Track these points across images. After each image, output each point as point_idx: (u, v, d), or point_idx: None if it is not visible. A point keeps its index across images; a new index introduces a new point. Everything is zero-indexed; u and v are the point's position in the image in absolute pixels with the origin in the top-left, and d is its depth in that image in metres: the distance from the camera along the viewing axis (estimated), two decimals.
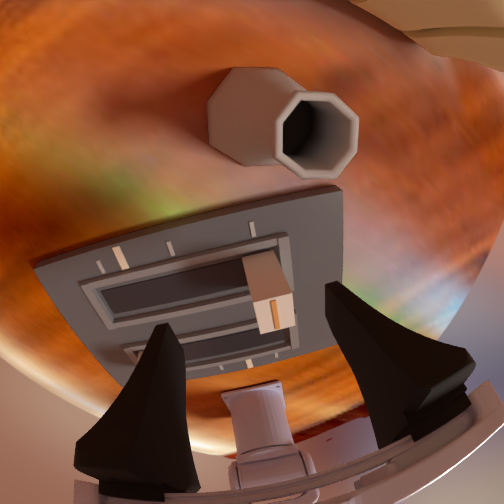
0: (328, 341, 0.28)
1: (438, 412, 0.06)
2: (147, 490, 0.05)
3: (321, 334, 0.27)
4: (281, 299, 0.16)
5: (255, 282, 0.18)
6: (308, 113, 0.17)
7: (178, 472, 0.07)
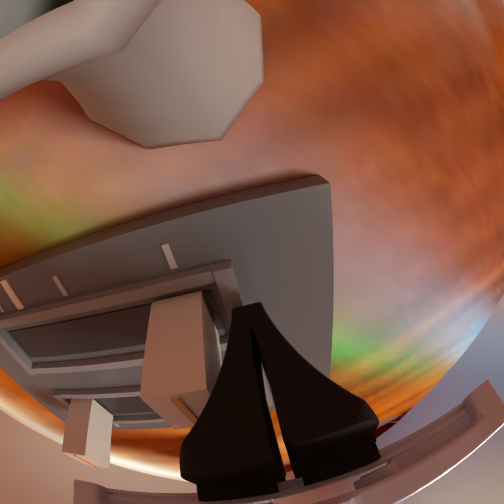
0: None
1: (334, 461, 0.06)
2: (263, 483, 0.05)
3: None
4: (189, 396, 0.08)
5: (154, 355, 0.09)
6: None
7: (279, 459, 0.07)
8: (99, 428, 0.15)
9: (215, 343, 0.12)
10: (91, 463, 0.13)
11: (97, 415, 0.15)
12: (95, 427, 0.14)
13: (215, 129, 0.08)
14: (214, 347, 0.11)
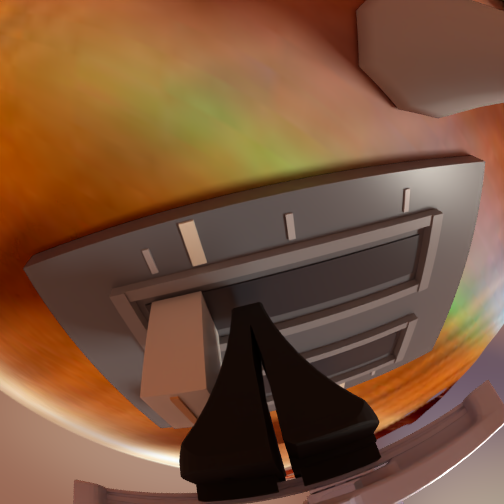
0: (425, 348, 0.20)
1: (334, 461, 0.06)
2: (263, 483, 0.05)
3: (423, 340, 0.19)
4: (189, 396, 0.08)
5: (154, 355, 0.09)
6: None
7: (279, 459, 0.07)
8: None
9: (215, 343, 0.12)
10: None
11: None
12: None
13: (460, 111, 0.09)
14: (214, 347, 0.11)
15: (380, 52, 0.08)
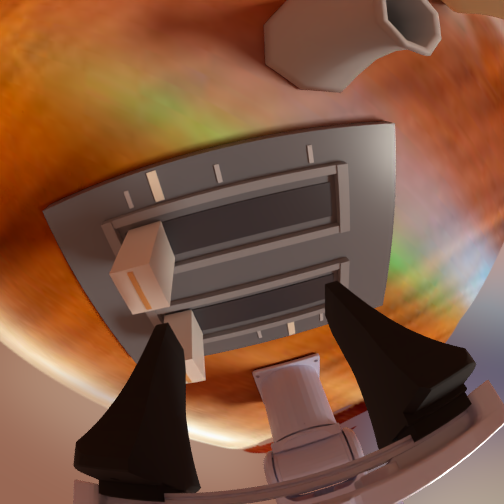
0: (374, 301, 0.25)
1: (438, 412, 0.06)
2: (147, 490, 0.05)
3: (369, 291, 0.24)
4: (139, 271, 0.13)
5: (123, 253, 0.14)
6: None
7: (178, 472, 0.07)
8: (197, 338, 0.21)
9: (168, 257, 0.17)
10: (188, 376, 0.18)
11: (195, 326, 0.21)
12: (195, 336, 0.20)
13: (349, 83, 0.14)
14: (166, 258, 0.17)
15: (275, 52, 0.13)
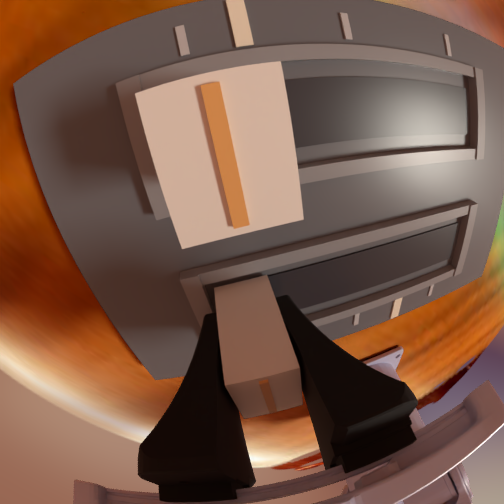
0: (477, 269, 0.16)
1: (374, 446, 0.06)
2: (220, 489, 0.05)
3: (477, 254, 0.15)
4: (241, 85, 0.04)
5: None
6: None
7: (243, 466, 0.07)
8: None
9: None
10: (275, 402, 0.09)
11: None
12: None
13: None
14: None
15: None
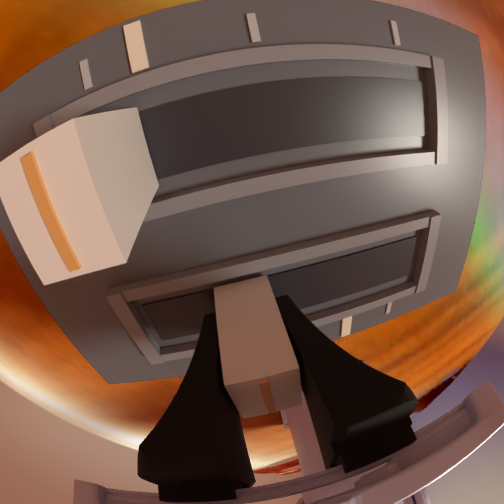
0: (449, 284, 0.16)
1: (374, 446, 0.06)
2: (219, 489, 0.05)
3: (447, 268, 0.15)
4: (47, 150, 0.04)
5: None
6: None
7: (242, 466, 0.07)
8: None
9: (143, 170, 0.08)
10: (274, 403, 0.09)
11: None
12: None
13: None
14: (137, 166, 0.07)
15: None
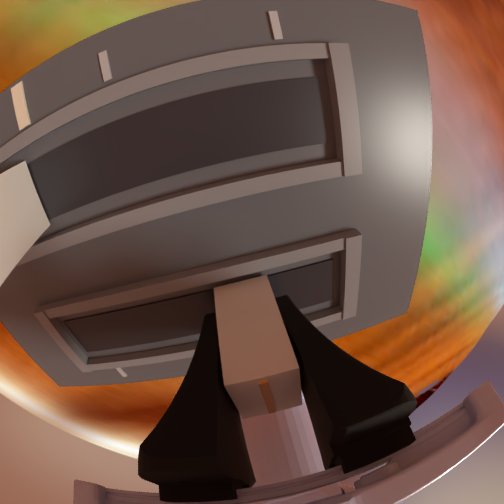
0: (396, 306, 0.16)
1: (373, 446, 0.06)
2: (220, 489, 0.05)
3: (390, 291, 0.15)
4: None
5: None
6: None
7: (243, 466, 0.07)
8: None
9: (24, 219, 0.07)
10: (274, 403, 0.09)
11: None
12: None
13: None
14: (16, 218, 0.07)
15: None
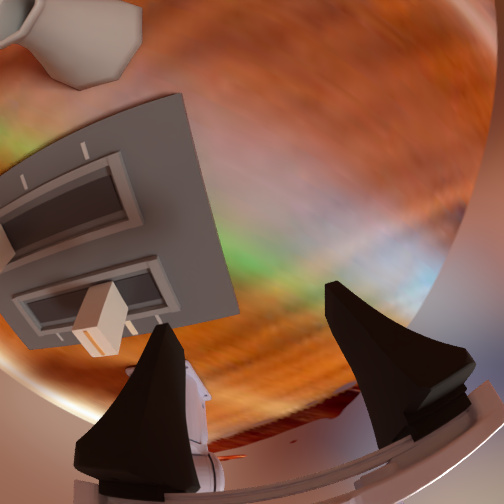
0: (224, 308, 0.23)
1: (438, 412, 0.06)
2: (147, 490, 0.05)
3: (209, 295, 0.22)
4: None
5: None
6: (139, 25, 0.12)
7: (178, 472, 0.07)
8: (114, 310, 0.19)
9: (2, 253, 0.15)
10: (100, 348, 0.16)
11: (114, 298, 0.19)
12: (111, 307, 0.18)
13: (104, 69, 0.11)
14: None
15: None
